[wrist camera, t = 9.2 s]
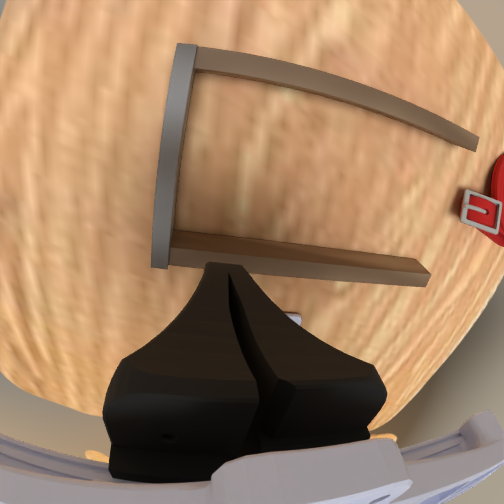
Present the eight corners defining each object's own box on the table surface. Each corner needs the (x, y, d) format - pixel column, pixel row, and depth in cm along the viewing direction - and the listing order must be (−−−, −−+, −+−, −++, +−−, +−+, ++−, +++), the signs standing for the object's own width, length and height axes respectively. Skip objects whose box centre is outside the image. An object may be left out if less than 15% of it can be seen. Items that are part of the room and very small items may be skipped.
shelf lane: (410, 271, 25) (428, 290, 22) (157, 244, 21) (150, 267, 18) (458, 130, 19) (483, 138, 17) (182, 51, 15) (177, 43, 13)
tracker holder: (525, 132, 19) (552, 219, 21) (493, 136, 23) (523, 215, 25) (471, 206, 18) (503, 301, 21) (434, 204, 23) (471, 289, 25)
